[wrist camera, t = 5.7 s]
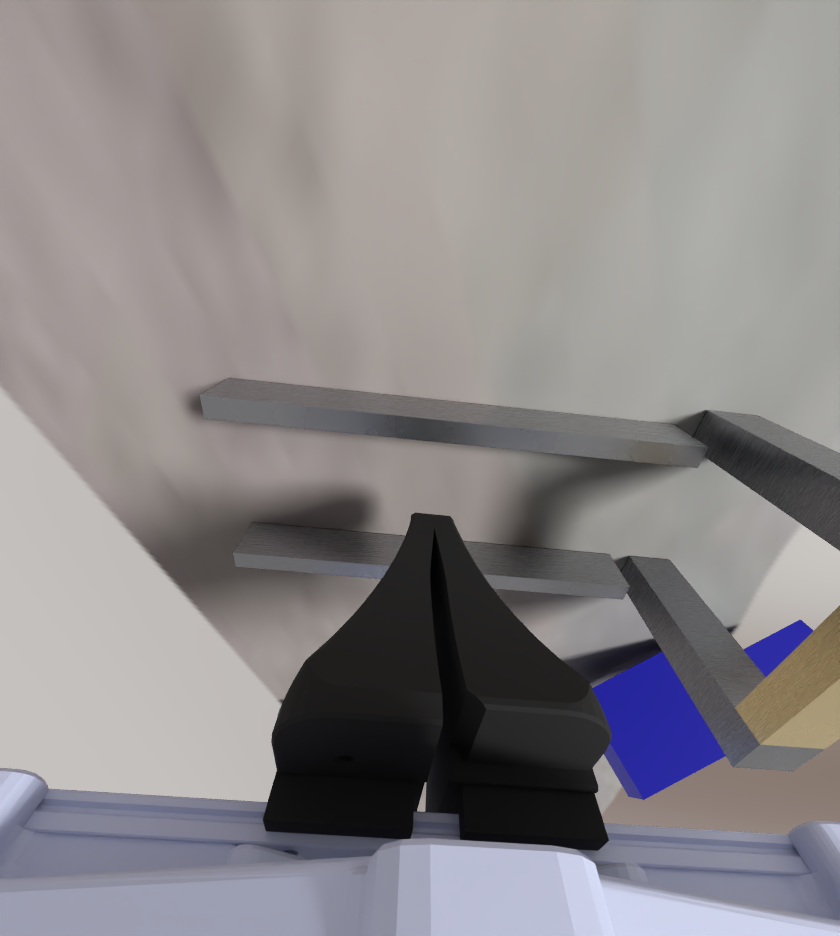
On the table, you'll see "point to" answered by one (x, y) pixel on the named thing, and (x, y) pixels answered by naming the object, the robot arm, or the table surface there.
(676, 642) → the bracket
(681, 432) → the guide channel
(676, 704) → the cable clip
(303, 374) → the table surface
